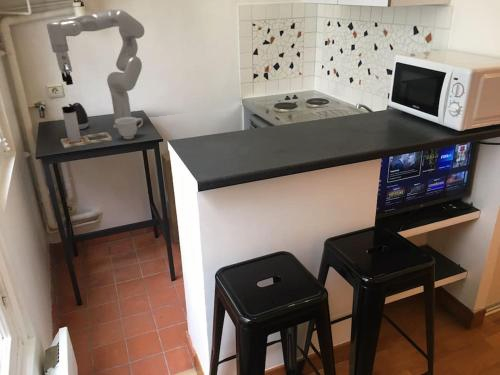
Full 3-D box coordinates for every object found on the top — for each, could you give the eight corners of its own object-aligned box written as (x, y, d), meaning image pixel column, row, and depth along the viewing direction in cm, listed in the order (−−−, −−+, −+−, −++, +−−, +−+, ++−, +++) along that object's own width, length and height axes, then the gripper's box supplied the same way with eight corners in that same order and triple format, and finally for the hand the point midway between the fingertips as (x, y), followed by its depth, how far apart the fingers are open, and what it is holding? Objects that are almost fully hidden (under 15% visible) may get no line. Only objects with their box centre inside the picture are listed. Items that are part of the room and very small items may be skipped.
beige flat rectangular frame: (107, 134, 237) (106, 132, 237) (112, 139, 228) (111, 137, 227) (61, 141, 227) (60, 139, 226) (64, 148, 217) (63, 145, 216)
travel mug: (68, 145, 221) (60, 107, 212) (69, 141, 226) (62, 104, 218) (81, 143, 222) (73, 106, 214) (81, 140, 228) (74, 103, 220)
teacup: (147, 137, 230) (145, 119, 226) (120, 142, 223) (117, 124, 219) (141, 132, 240) (139, 114, 235) (115, 136, 233) (112, 119, 229)
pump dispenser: (78, 125, 255) (73, 100, 249) (93, 126, 252) (89, 101, 246) (67, 130, 246) (62, 104, 240) (83, 131, 243) (78, 105, 237)
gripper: (71, 49, 204) (78, 84, 212) (65, 45, 217) (72, 79, 225) (54, 51, 201) (63, 87, 208) (49, 47, 214) (57, 81, 222)
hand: (68, 83), depth 217 cm, fingers open, 9 cm apart
